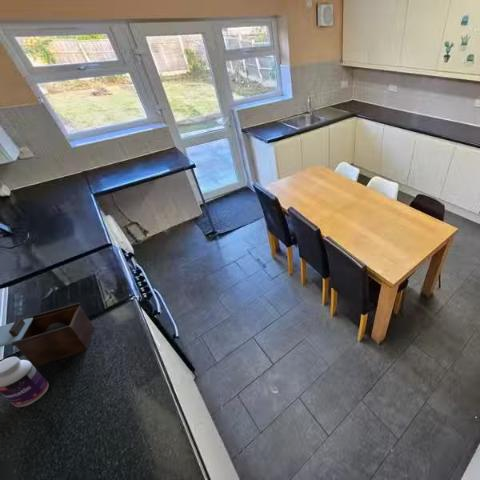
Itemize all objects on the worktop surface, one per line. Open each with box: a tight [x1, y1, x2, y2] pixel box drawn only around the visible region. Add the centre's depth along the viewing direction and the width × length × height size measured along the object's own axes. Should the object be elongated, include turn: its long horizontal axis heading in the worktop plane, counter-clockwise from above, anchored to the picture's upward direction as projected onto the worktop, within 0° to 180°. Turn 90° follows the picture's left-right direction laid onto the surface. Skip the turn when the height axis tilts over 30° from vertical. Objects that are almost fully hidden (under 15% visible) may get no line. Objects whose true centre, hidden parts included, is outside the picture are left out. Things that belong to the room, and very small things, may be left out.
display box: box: [11, 302, 95, 368], centre depth 95 cm, size 15×13×13 cm
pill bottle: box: [0, 356, 50, 408], centre depth 79 cm, size 8×8×14 cm
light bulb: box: [46, 323, 66, 332], centre depth 95 cm, size 6×6×10 cm
